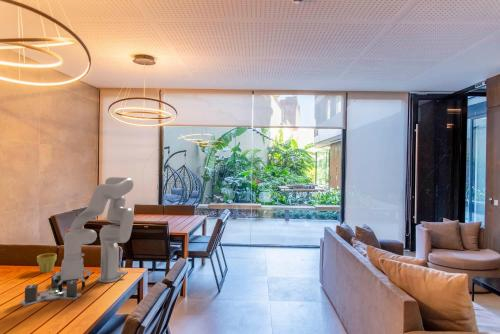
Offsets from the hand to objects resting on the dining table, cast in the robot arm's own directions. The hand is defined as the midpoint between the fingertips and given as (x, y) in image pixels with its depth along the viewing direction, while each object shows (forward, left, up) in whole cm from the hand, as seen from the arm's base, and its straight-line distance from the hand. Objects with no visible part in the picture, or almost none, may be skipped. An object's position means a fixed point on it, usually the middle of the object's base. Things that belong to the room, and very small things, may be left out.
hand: (71, 290), depth 161 cm
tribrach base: (+9, -7, -3) cm, 12 cm away
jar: (+4, -25, -4) cm, 26 cm away
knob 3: (0, 0, -2) cm, 2 cm away
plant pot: (+19, -49, -4) cm, 53 cm away
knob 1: (+17, 0, -2) cm, 17 cm away
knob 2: (+9, -15, -2) cm, 17 cm away
